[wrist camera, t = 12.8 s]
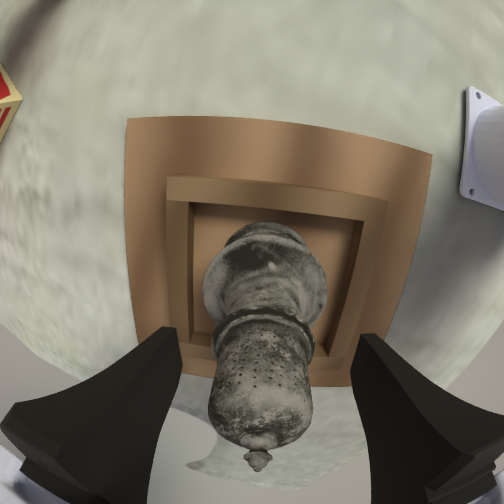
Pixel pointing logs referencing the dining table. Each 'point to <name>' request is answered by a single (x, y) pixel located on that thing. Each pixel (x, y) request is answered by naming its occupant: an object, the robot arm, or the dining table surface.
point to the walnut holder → (269, 210)
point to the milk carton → (7, 101)
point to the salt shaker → (263, 337)
